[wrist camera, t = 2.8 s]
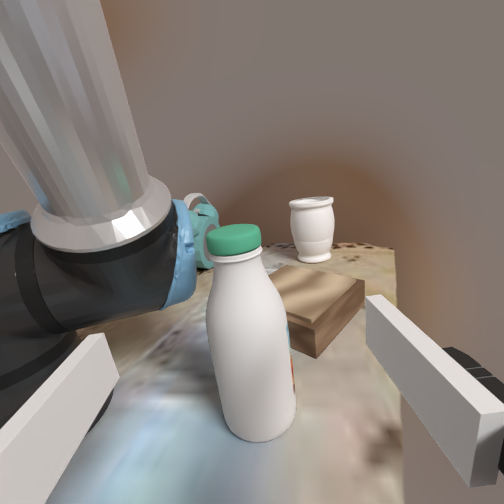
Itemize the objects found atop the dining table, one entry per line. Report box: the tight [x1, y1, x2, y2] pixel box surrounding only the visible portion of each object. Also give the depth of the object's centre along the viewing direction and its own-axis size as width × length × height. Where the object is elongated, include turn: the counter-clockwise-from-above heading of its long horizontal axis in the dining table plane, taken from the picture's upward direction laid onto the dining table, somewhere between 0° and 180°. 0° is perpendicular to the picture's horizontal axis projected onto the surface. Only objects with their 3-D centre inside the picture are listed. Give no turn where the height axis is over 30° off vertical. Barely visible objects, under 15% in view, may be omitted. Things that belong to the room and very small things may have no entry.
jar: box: [289, 197, 334, 263], centre depth 66 cm, size 11×10×15 cm
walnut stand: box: [268, 265, 365, 359], centre depth 44 cm, size 16×16×5 cm
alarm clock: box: [184, 193, 220, 269], centre depth 70 cm, size 17×10×20 cm, turn 165°
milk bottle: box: [206, 224, 296, 443], centre depth 25 cm, size 8×8×20 cm
